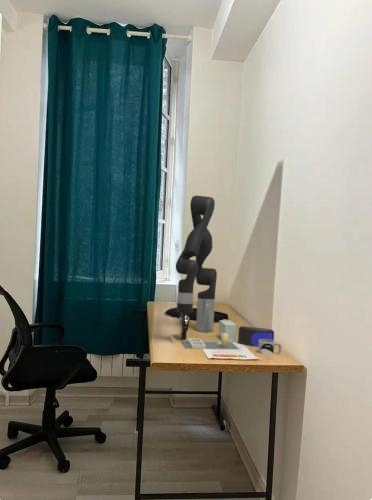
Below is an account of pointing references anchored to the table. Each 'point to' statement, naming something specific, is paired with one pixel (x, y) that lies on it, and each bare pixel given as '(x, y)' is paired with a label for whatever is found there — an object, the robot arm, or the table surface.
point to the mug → (268, 346)
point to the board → (209, 343)
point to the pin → (181, 331)
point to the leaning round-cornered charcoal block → (253, 335)
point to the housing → (228, 329)
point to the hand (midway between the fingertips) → (183, 338)
